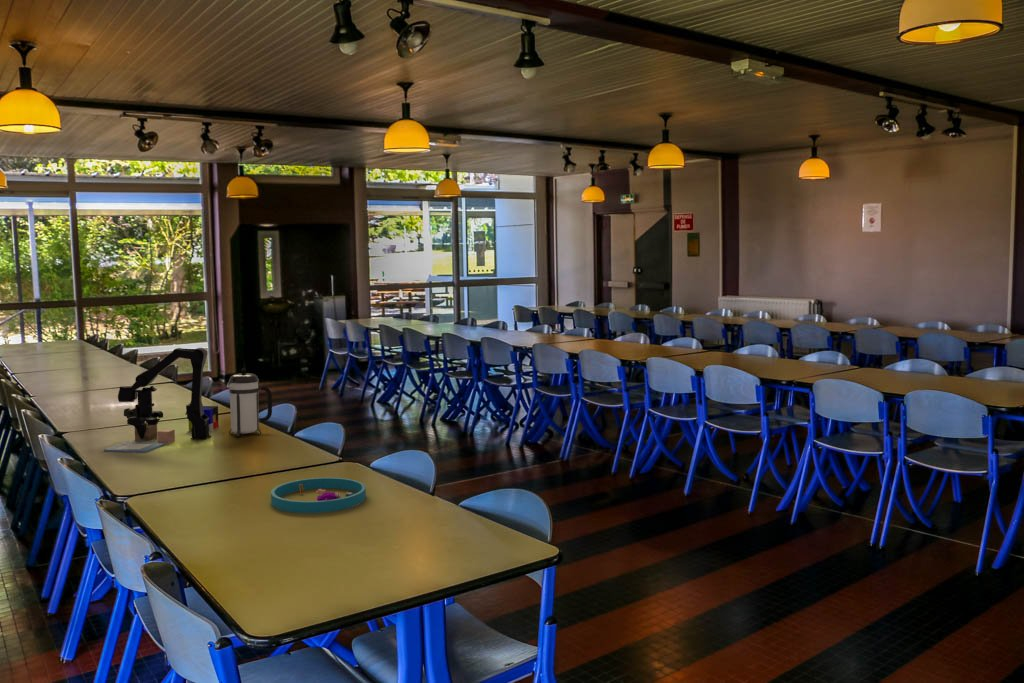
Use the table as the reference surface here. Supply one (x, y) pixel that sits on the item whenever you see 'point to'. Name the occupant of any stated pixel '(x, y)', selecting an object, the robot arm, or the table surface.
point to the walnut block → (147, 433)
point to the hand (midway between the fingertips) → (146, 437)
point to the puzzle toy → (210, 417)
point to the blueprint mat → (135, 447)
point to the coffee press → (246, 403)
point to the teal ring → (323, 502)
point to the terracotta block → (166, 435)
